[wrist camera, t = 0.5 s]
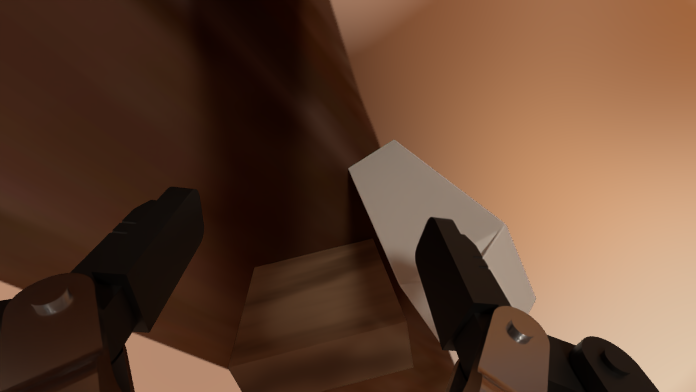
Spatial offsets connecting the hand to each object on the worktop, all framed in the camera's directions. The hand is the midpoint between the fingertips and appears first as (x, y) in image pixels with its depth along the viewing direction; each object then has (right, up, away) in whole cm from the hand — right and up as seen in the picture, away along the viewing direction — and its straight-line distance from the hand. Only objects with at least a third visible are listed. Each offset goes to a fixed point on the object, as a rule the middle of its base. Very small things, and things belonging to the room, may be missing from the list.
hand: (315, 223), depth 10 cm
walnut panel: (-2, -9, +26) cm, 28 cm away
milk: (+5, +3, +22) cm, 23 cm away
